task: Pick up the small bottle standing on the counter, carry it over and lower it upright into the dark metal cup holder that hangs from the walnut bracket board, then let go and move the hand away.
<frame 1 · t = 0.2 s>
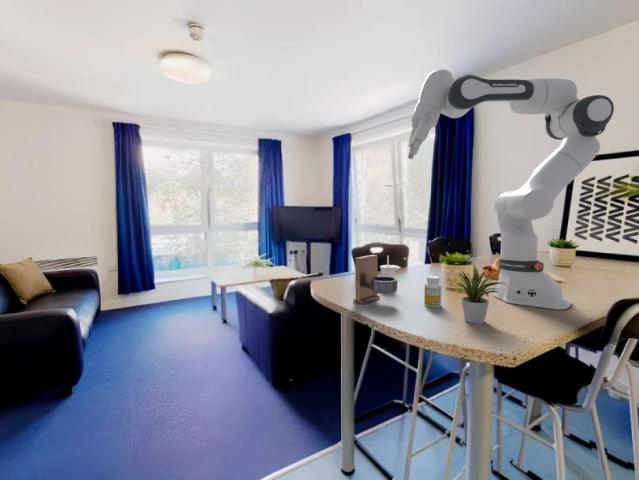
hand: (411, 156, 115), 51 cm above the table, tool tilted 20°, fingers open, 8 cm apart
cup bracket: (384, 304, 109), on the table
supplement bottle: (432, 305, 108), on the table
house plant: (473, 322, 92), on the table
smoothie: (388, 290, 130), on the table
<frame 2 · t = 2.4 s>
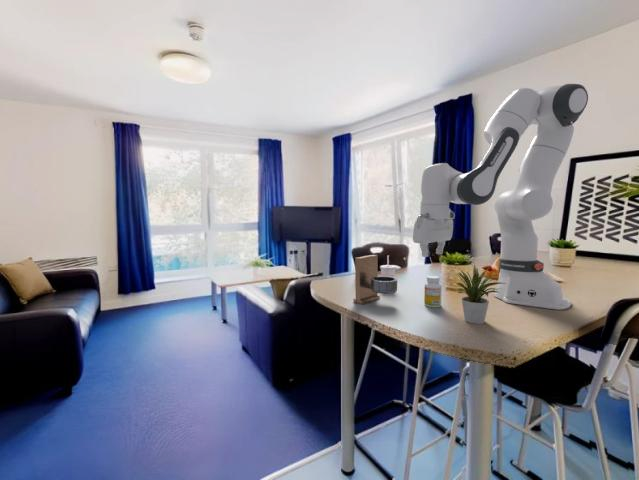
hand: (432, 255, 106), 17 cm above the table, tool pointing down, fingers open, 8 cm apart
nothing on the table moved.
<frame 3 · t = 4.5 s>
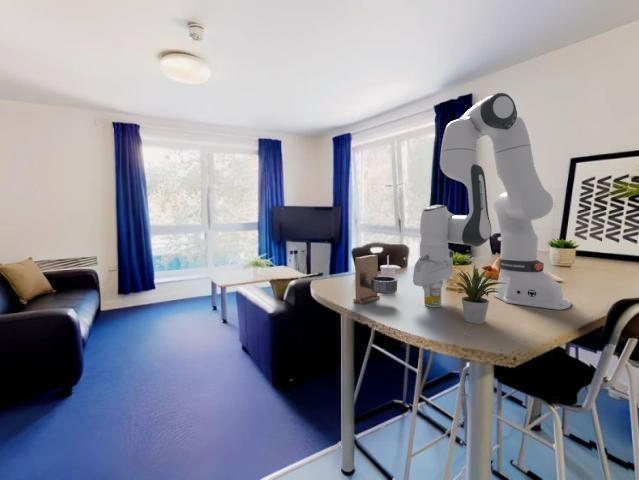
hand: (432, 294, 108), 4 cm above the table, tool pointing down, fingers closed on supplement bottle, 5 cm apart
supplement bottle: (432, 305, 108), on the table, touching gripper
everything else where it was.
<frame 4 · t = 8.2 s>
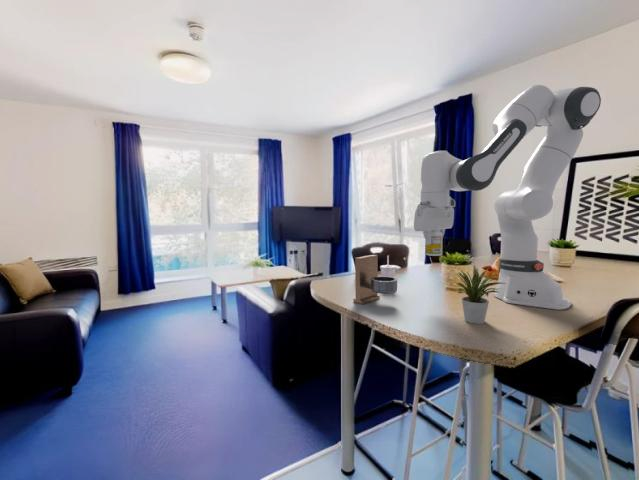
hand: (434, 243, 106), 21 cm above the table, tool pointing down, fingers closed on supplement bottle, 5 cm apart
supplement bottle: (433, 255, 107), point 17 cm above the table, touching gripper
everything else where it was.
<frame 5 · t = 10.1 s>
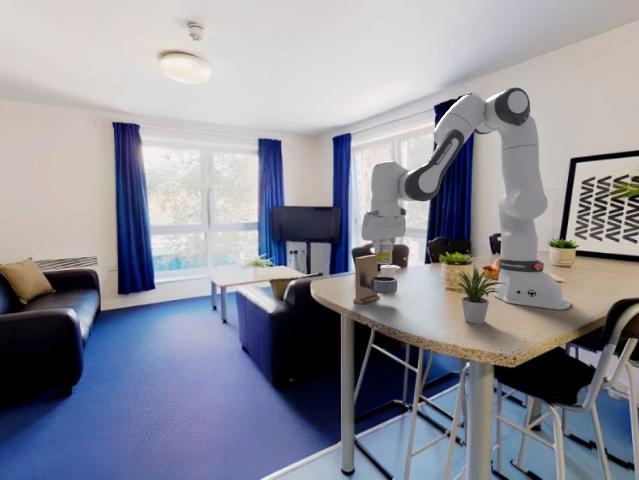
hand: (384, 252, 108), 18 cm above the table, tool pointing down, fingers closed on supplement bottle, 5 cm apart
supplement bottle: (383, 263, 108), point 14 cm above the table, touching gripper
everything else where it was.
when the fingers open (11 cm above the table, at t = 11.8 s): supplement bottle drops 1 cm, resting on cup bracket.
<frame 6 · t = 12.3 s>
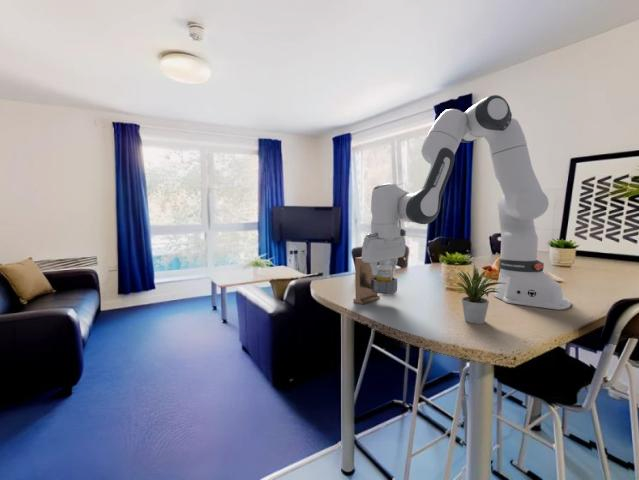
hand: (384, 272, 108), 11 cm above the table, tool pointing down, fingers open, 8 cm apart
supplement bottle: (384, 288, 109), point 6 cm above the table, touching cup bracket
everything else where it was.
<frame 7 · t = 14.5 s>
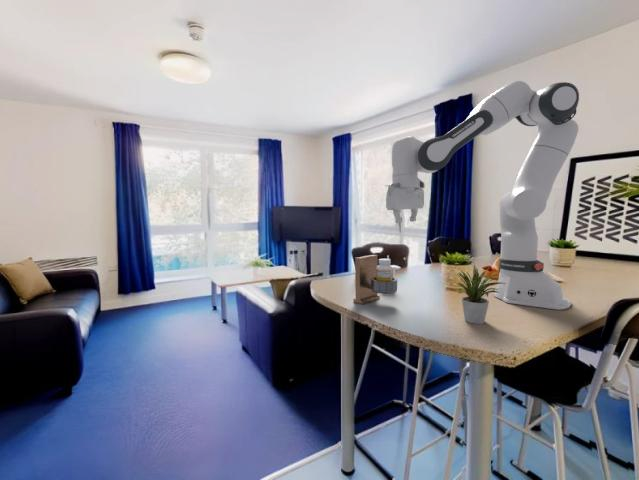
hand: (406, 222, 116), 28 cm above the table, tool pointing down, fingers open, 8 cm apart
nothing on the table moved.
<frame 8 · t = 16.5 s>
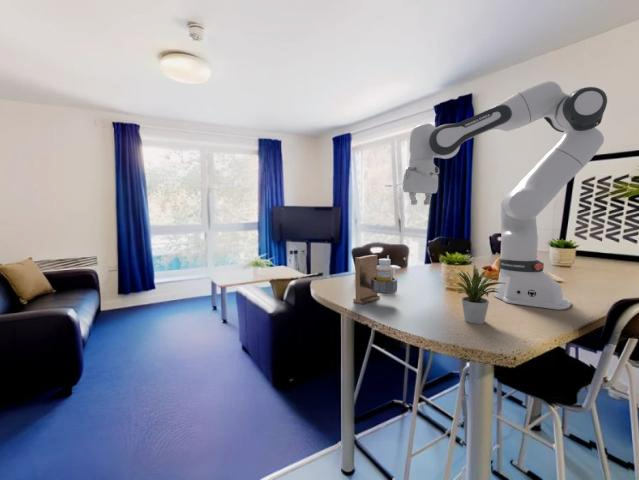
hand: (420, 204, 124), 34 cm above the table, tool pointing down, fingers open, 8 cm apart
nothing on the table moved.
at the end: supplement bottle 0.1 cm off-centre on the cup bracket, point 5.8 cm above the cup bracket's base; supplement bottle tilted 0°; the gripper is holding nothing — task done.
